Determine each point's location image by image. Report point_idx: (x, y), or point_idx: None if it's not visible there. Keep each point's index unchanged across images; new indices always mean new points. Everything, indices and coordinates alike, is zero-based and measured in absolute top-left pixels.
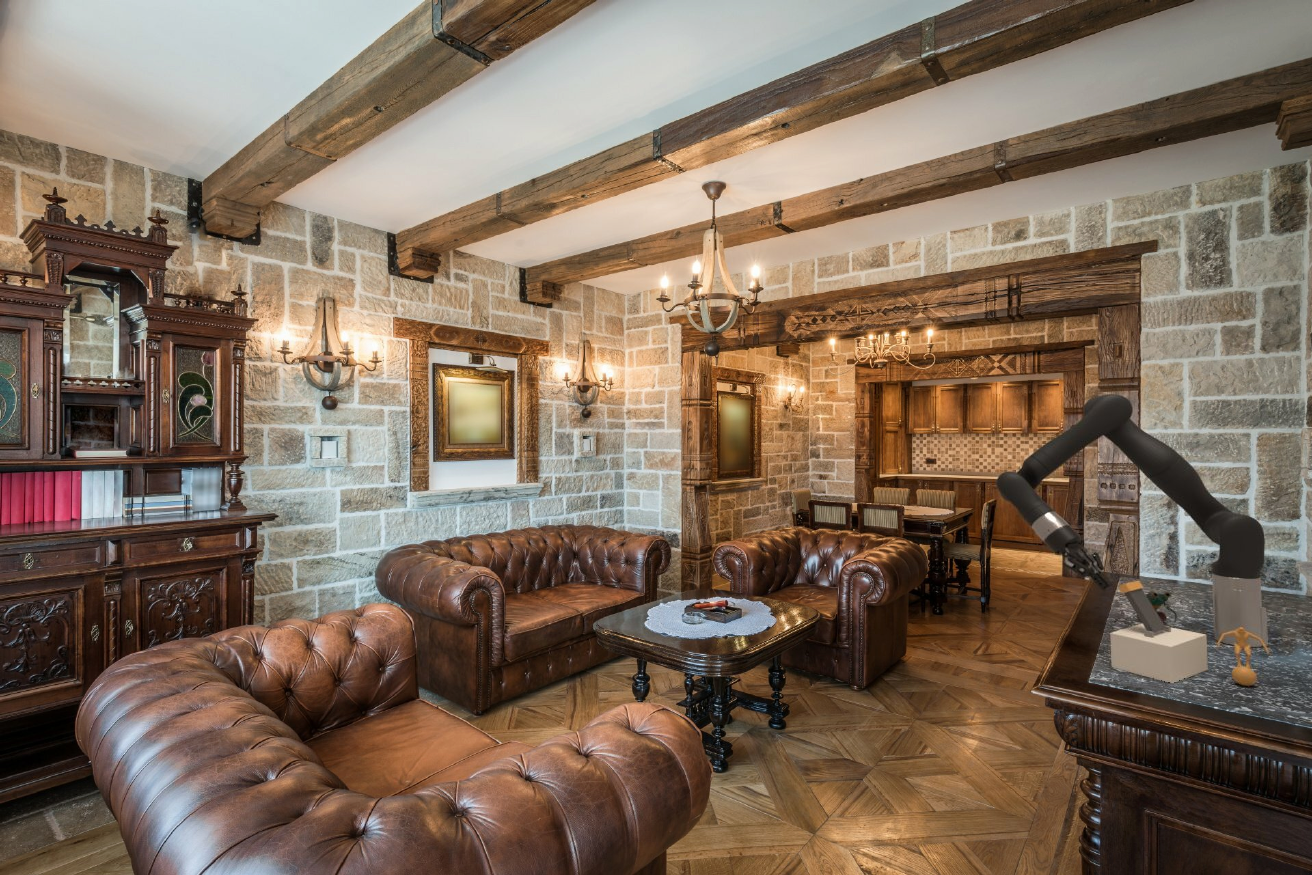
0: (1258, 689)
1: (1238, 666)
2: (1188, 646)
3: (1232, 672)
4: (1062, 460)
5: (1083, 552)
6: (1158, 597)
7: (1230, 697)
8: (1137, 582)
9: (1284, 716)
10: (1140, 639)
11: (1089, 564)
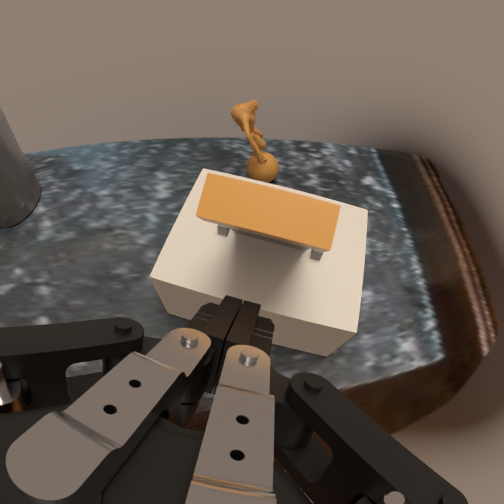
0: None
1: (265, 161)
2: None
3: (269, 175)
4: None
5: (98, 488)
6: None
7: (339, 191)
8: (232, 179)
9: (358, 155)
10: (360, 263)
11: (273, 397)
